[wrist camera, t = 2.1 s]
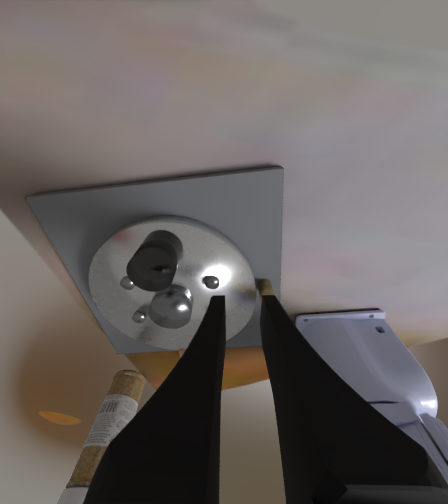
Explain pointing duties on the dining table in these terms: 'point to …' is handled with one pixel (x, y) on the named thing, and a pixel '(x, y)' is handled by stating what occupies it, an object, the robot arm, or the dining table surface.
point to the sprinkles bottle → (104, 432)
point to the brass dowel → (265, 288)
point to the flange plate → (187, 273)
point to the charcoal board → (170, 204)
